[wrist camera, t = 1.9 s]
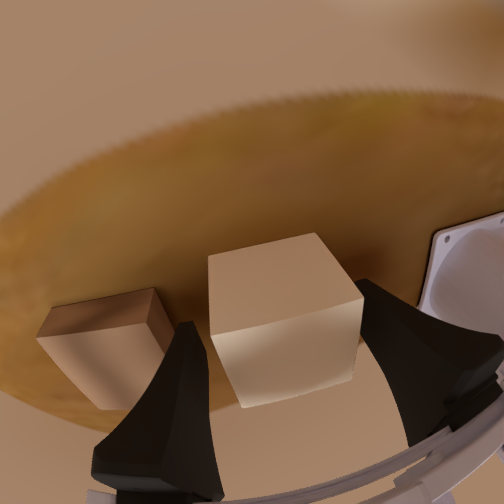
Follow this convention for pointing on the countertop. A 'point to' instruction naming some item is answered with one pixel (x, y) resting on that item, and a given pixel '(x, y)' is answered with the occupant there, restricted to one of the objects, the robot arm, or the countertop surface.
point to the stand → (109, 345)
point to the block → (283, 319)
